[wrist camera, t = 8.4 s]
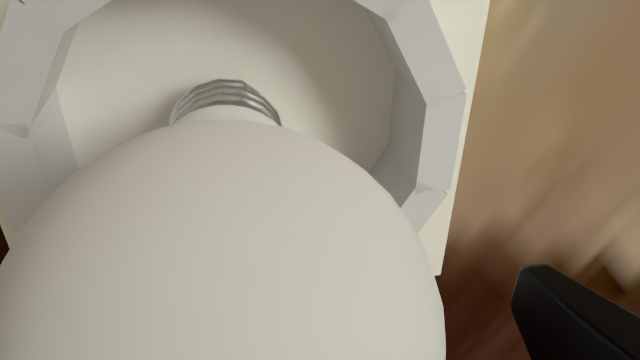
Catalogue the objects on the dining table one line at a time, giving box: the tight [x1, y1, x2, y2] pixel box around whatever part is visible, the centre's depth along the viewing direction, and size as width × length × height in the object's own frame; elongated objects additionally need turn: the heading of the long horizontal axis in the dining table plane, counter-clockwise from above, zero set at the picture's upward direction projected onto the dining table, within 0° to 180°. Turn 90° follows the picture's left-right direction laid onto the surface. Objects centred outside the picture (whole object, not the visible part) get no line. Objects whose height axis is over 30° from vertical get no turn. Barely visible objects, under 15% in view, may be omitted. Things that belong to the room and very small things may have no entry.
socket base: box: [0, 0, 490, 276], centre depth 14 cm, size 14×14×4 cm
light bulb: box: [0, 78, 446, 360], centre depth 10 cm, size 7×7×11 cm
